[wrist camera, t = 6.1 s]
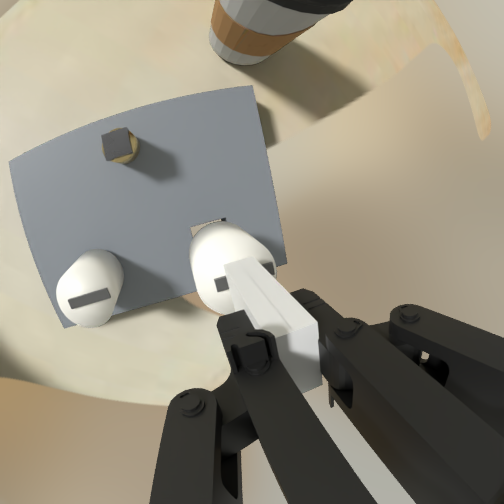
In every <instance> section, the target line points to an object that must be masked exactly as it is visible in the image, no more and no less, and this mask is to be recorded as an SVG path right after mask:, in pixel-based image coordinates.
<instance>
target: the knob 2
mask: <svg viewBox="0 0 504 504" xmlns="http://www.w3.org/2000/svg"><path fill="white" fill-rule="evenodd" d="M251 256H253V257H254V258H255V259H256V260H257V261H258V262H259V263H260V264H261V265H262V266H263V267H264V268H265V269H266V270H267V271H268V272H269V273H270V274H271V275H272V276H273V277H274V278H275V279H276V276H277V270H276V264H275V261H274V258H273V256H272V255H271V253H270V252H269V250H268V249H267V248H266V247H265V246H264V245H262V244H261V243H260V242H259V241H257V240H256V239H255V238H253V237H252V236H251V235H250V234H248V233H247V232H246V231H244V230H243V229H242V228H241V227H239V226H238V225H236V224H233V223H231V222H225V221H219V222H213V223H210V224H208V225H206V226H205V227H203V228H201V229H200V230H199V231H198V232H197V233H196V235H195V236H194V238H193V239H192V241H191V244H190V248H189V260H190V264H191V268H192V272H193V276H194V280H195V284H196V288H197V292H198V294H199V296H200V298H201V300H202V301H203V302H204V303H205V304H206V305H207V306H208V307H209V308H210V309H212V310H214V311H216V312H218V313H221V314H225V315H227V314H230V313H234V312H235V308H234V304H233V301H232V297H231V293H230V289H229V286H228V282H227V278H226V274H225V270H224V267H223V264H227V263H230V262H234V261H237V260H240V259H244V258H247V257H251Z"/></svg>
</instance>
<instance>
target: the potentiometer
mask: <svg viewBox="0 0 504 504" xmlns="http://www.w3.org/2000/svg"><path fill="white" fill-rule="evenodd" d="M101 138H102V152H103V154H104V156H105V158H106V161H112V162H116V163H121V164H127V163H130V162H132V161H133V160H135V159H136V157H137V156H138V154H139V151H140V143H139V141H138V139H137V138H136V137H135V136H134V135H133V134H132V133H131V132H130V131H129V129H128V128H127V127H124V128H116V129H113V130H111V131H110V132H109V133H106V134H103V135H101Z"/></svg>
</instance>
